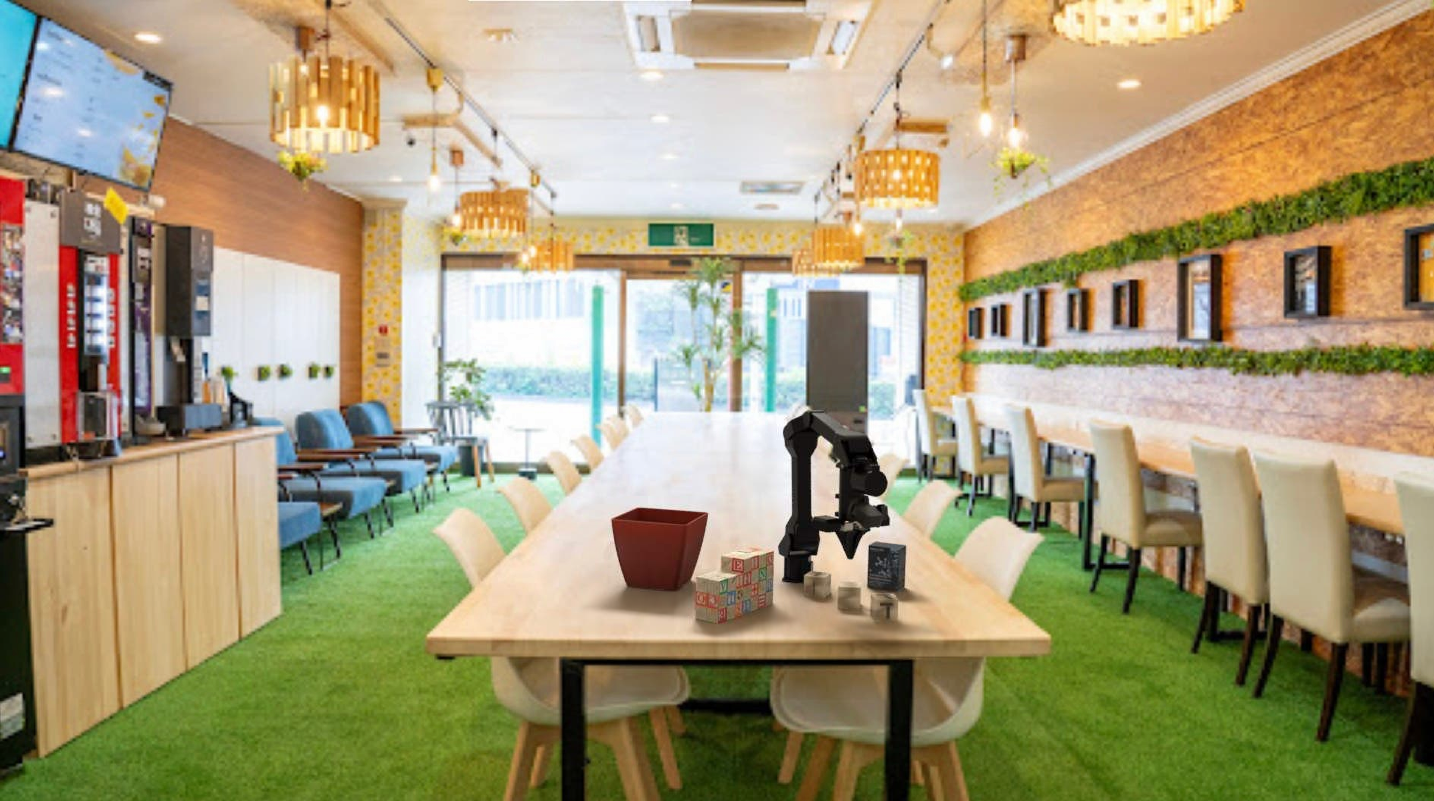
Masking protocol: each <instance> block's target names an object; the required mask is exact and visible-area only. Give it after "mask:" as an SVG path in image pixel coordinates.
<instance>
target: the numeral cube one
mask: <svg viewBox="0 0 1434 801" xmlns="http://www.w3.org/2000/svg"><path fill="white" fill-rule="evenodd" d="M831 590H832V573H831V572H823V571H815V570H813V571H810V572H809V573H807V574H806V575H804V583H803V596H804V597H810V598H820V599H825V598H827V597H828V596H830V595H831V594H832V591H831Z"/></svg>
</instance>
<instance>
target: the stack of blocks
mask: <svg viewBox="0 0 1434 801" xmlns="http://www.w3.org/2000/svg"><path fill="white" fill-rule="evenodd" d="M774 556H775V552H774V550H770V549H766V548H765V549H764V548H757V547H748V548H741V549H738V550H736V551H733V552H729V553H726V554H723V555H721V556H720V569H718V570H714V571H710V572H707V573H705V574H701V575H698V576H696V578H695V581H696V582H695V601H694V603H695V605H694V606H695V607H694V610H695V612H694V613H695V614H694V615H695V616H694V618H695V619H696V620H700V621H704V622H708V623H714V624H721V623H723V622H727V621H729V620H732V619H735V618H737V617H740V616H743V615H746V614H747V613H750V612H753V611H756V610H758V609H761V608H764V607H767V606H770V605H772V604H773V603H774V576H775V575H774V571H775V569H774V567H775V566H774V565H775V564H774V560H775V559H774V558H775V557H774Z"/></svg>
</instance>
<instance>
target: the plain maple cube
mask: <svg viewBox="0 0 1434 801" xmlns="http://www.w3.org/2000/svg"><path fill="white" fill-rule="evenodd" d="M861 594H862V582H858V581H844V580H843V581H841V580H839V581H838V583H837V606H836V607H837V609H842V610H857V611H860V610H861V603H862V602H861V601H862V598H861V597H862V596H861Z"/></svg>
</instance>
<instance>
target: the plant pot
mask: <svg viewBox="0 0 1434 801" xmlns="http://www.w3.org/2000/svg"><path fill="white" fill-rule="evenodd" d="M708 518H709V512H707V511H706V512H705V511H695V510H684V509H683V510H682V509H681V510H680V509H667V508H657V507H656V508H655V507H642V506H641V507H635V508H633V509H631V510H628V511H625V512H624V513H621V514H619V515H616V516H614V517H612V518H611V519H610V521H611V528H612V529H611V530H612V535H613V542H614V543H613V544H614V547H615V552H616V555H617V556H616V557H617V560H618V563H619V567H620V570H621V573H622V577H623V580H624V582H625V585H626V586H627V587H630V588H631V587H632V588H639V589H650V590H658V591H659V590H660V591H668V592H676V591H678V590H680V589H681V588H682V587H683V586H685V585H686V584H687V583H689V582H690V581H691V580H692V578H693V575H694V572H695V570H696V567H697V564H698V561H699V557H700V554H701V550H702V546H703V542H704V539H705V534H706V530H707V524H708Z"/></svg>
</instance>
